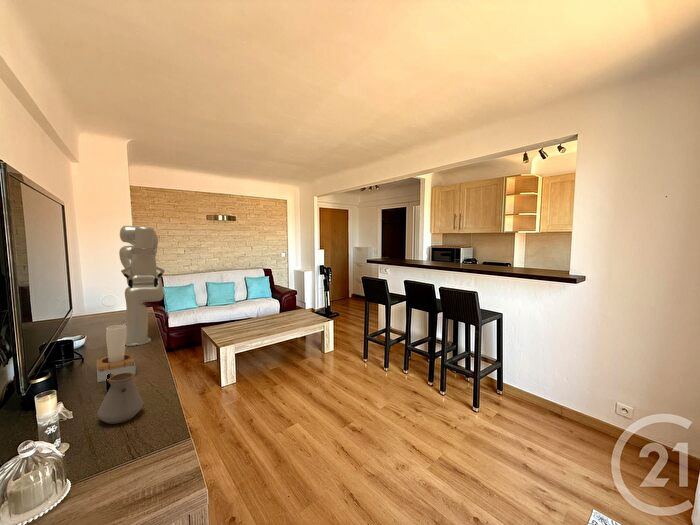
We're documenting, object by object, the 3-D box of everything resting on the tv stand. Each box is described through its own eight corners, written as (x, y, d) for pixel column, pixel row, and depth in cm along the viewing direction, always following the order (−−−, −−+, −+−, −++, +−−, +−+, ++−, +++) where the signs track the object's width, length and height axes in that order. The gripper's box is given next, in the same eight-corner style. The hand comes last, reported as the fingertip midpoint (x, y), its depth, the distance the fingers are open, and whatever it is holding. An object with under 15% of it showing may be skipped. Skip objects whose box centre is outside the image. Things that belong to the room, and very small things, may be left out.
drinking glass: (105, 361, 123) (105, 326, 122) (125, 357, 127) (125, 324, 127) (106, 366, 118) (106, 329, 117) (127, 362, 122) (127, 327, 122)
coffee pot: (97, 414, 92) (98, 368, 92) (141, 403, 100) (142, 360, 99) (95, 451, 76) (95, 395, 75) (148, 435, 83) (149, 384, 83)
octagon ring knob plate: (96, 368, 125) (96, 356, 125) (131, 362, 133) (131, 350, 133) (97, 382, 113) (97, 368, 113) (135, 374, 121) (135, 361, 121)
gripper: (163, 252, 149) (162, 285, 150) (120, 251, 138) (120, 287, 138) (166, 253, 144) (165, 287, 144) (122, 251, 132) (121, 289, 133)
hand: (143, 287), depth 141 cm, fingers open, 9 cm apart
